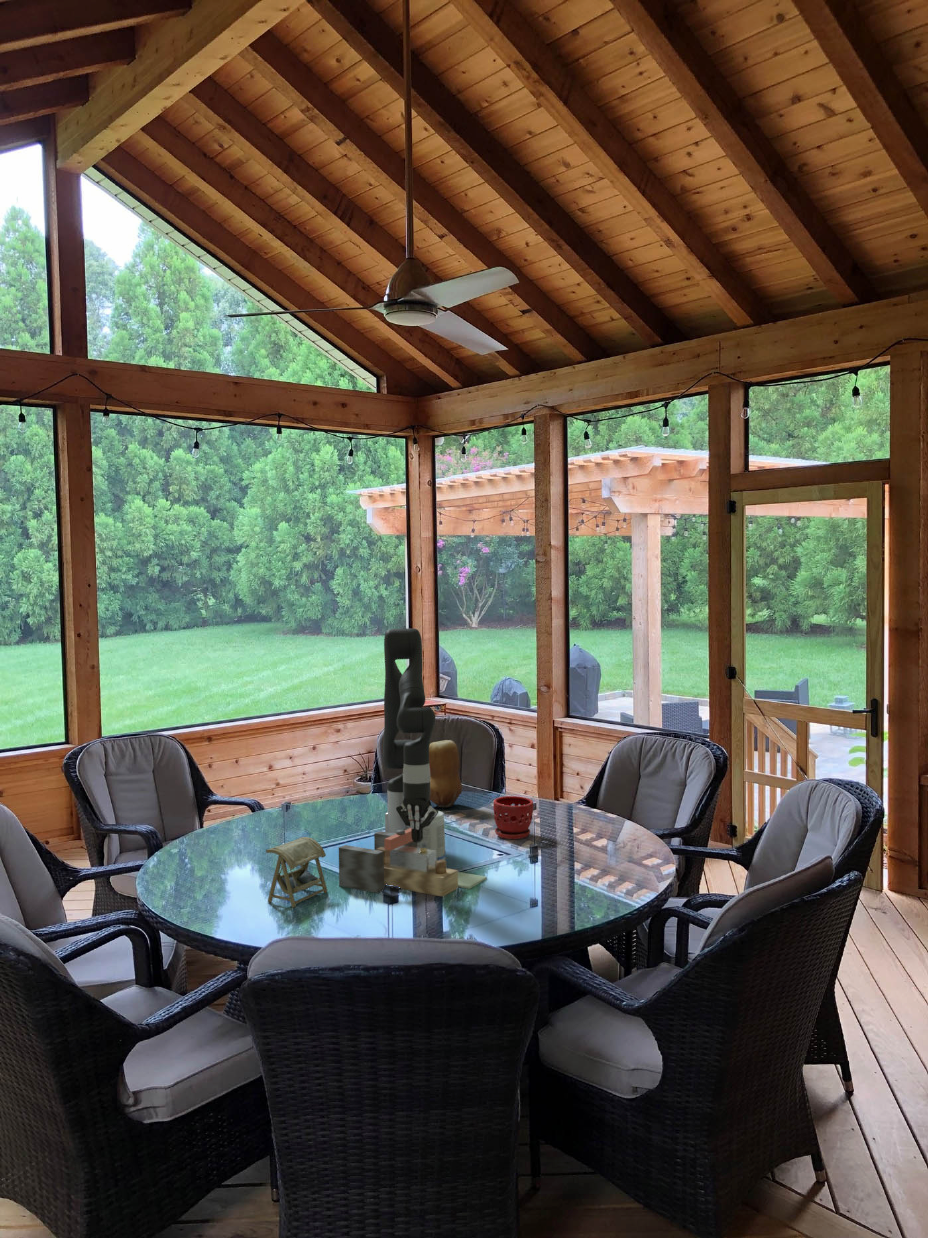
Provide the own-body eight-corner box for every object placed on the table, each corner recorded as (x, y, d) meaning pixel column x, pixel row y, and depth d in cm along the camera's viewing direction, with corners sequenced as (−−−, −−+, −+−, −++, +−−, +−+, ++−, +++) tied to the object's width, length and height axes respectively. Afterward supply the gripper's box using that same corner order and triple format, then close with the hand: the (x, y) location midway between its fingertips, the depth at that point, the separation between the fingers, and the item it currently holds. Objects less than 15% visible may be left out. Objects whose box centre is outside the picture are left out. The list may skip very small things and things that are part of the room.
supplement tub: (437, 856, 294) (436, 808, 293) (450, 864, 286) (450, 815, 285) (408, 860, 290) (407, 812, 289) (420, 868, 281) (420, 819, 281)
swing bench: (294, 908, 248) (293, 852, 247) (265, 903, 252) (264, 847, 252) (328, 892, 261) (327, 838, 260) (300, 887, 265) (299, 834, 265)
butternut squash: (425, 803, 363) (424, 737, 362) (460, 802, 365) (460, 737, 364) (428, 812, 350) (427, 744, 349) (464, 811, 351) (464, 743, 350)
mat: (438, 883, 267) (438, 881, 267) (456, 873, 276) (456, 871, 276) (469, 888, 262) (469, 886, 262) (486, 878, 271) (486, 876, 271)
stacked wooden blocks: (339, 885, 266) (338, 847, 265) (380, 867, 283) (380, 831, 283) (430, 903, 251) (430, 862, 250) (468, 882, 268) (468, 844, 268)
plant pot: (487, 839, 312) (487, 803, 312) (501, 829, 325) (501, 794, 324) (526, 843, 308) (525, 806, 307) (538, 833, 320) (538, 797, 319)
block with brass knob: (390, 867, 266) (389, 846, 266) (400, 862, 270) (399, 842, 270) (426, 873, 260) (426, 852, 260) (436, 868, 264) (436, 847, 264)
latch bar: (383, 849, 262) (383, 835, 262) (410, 838, 273) (409, 825, 273) (391, 850, 261) (391, 837, 261) (417, 839, 272) (417, 826, 272)
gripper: (389, 779, 264) (389, 842, 264) (429, 784, 257) (430, 848, 258) (404, 774, 270) (404, 835, 271) (444, 779, 264) (444, 841, 264)
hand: (417, 841), depth 264 cm, fingers closed
